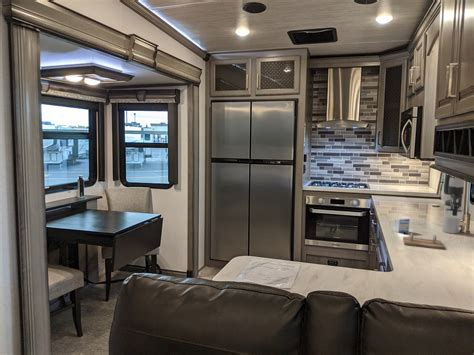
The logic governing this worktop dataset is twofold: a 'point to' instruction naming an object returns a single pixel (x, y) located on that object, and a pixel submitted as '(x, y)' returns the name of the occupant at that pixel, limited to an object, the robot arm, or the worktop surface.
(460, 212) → the block
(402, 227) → the medicine box
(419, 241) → the pin tray
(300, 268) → the worktop surface
